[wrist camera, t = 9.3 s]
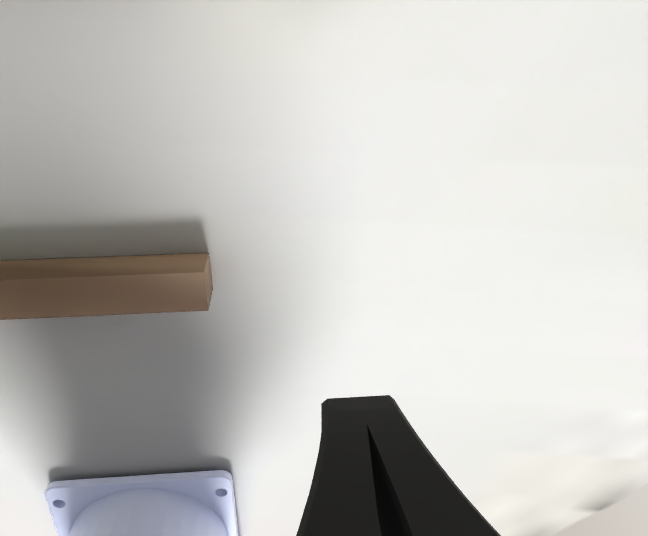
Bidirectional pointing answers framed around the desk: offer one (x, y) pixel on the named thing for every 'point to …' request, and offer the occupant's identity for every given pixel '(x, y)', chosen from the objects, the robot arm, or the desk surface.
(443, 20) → the desk surface
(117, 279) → the level stand
